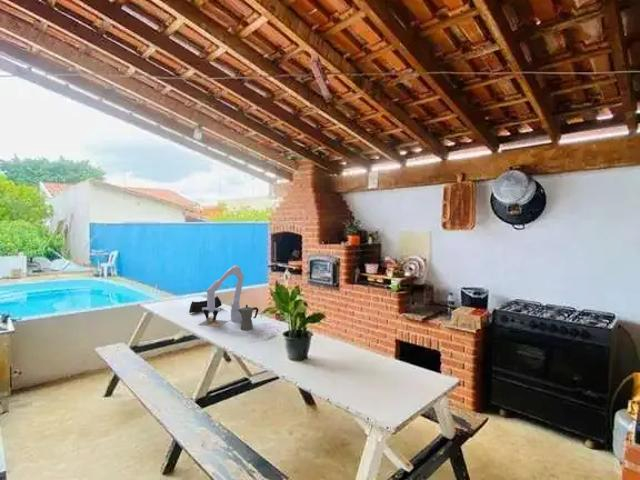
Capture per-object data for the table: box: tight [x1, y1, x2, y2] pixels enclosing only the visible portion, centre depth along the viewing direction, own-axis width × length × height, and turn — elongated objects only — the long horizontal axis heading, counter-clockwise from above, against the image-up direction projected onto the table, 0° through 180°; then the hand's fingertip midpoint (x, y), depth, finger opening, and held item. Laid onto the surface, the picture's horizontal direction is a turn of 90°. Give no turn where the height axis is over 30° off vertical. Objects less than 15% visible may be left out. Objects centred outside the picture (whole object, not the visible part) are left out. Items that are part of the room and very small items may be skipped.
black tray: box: [188, 295, 223, 314], centre depth 319 cm, size 17×3×30 cm
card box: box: [207, 315, 215, 323], centre depth 286 cm, size 4×7×3 cm, turn 168°
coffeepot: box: [238, 304, 259, 331], centre depth 270 cm, size 15×9×18 cm, turn 111°
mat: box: [198, 319, 229, 328], centre depth 282 cm, size 18×16×1 cm
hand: (211, 319), depth 286 cm, fingers open, 6 cm apart
